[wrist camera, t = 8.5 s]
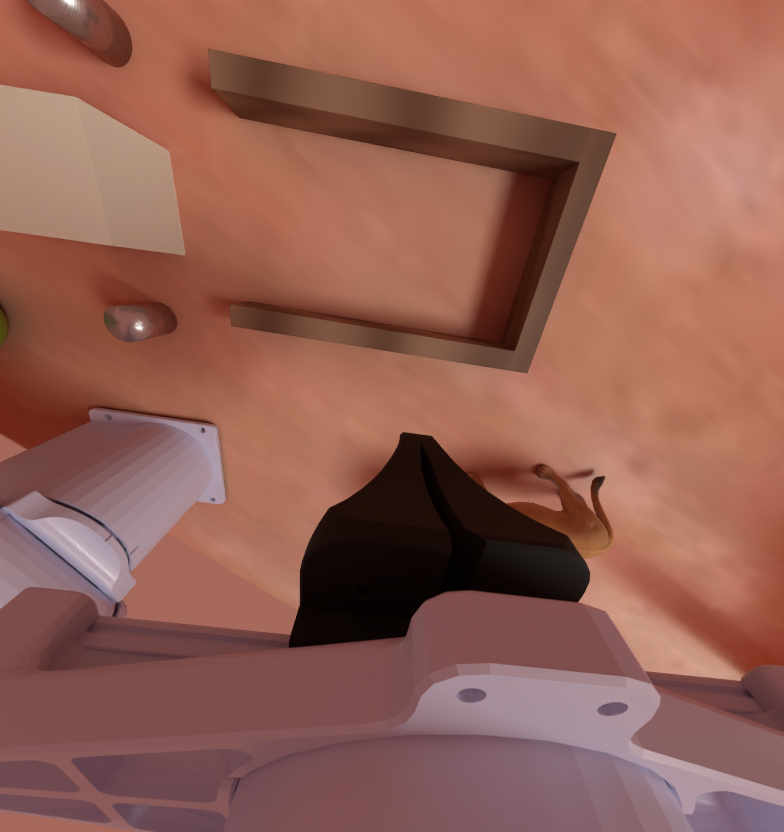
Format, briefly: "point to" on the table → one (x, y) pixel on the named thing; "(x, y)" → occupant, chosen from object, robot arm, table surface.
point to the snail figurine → (3, 327)
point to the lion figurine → (571, 515)
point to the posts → (110, 40)
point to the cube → (83, 175)
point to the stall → (442, 137)
